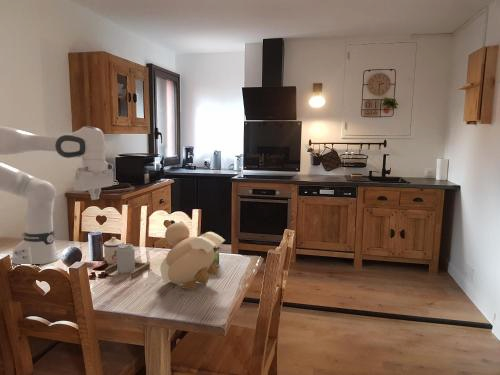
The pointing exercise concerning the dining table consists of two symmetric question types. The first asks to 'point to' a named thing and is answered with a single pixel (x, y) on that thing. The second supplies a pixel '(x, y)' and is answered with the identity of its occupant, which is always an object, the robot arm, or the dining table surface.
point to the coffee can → (216, 251)
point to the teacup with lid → (111, 250)
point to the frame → (141, 268)
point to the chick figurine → (189, 256)
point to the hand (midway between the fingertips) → (95, 199)
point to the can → (125, 258)
